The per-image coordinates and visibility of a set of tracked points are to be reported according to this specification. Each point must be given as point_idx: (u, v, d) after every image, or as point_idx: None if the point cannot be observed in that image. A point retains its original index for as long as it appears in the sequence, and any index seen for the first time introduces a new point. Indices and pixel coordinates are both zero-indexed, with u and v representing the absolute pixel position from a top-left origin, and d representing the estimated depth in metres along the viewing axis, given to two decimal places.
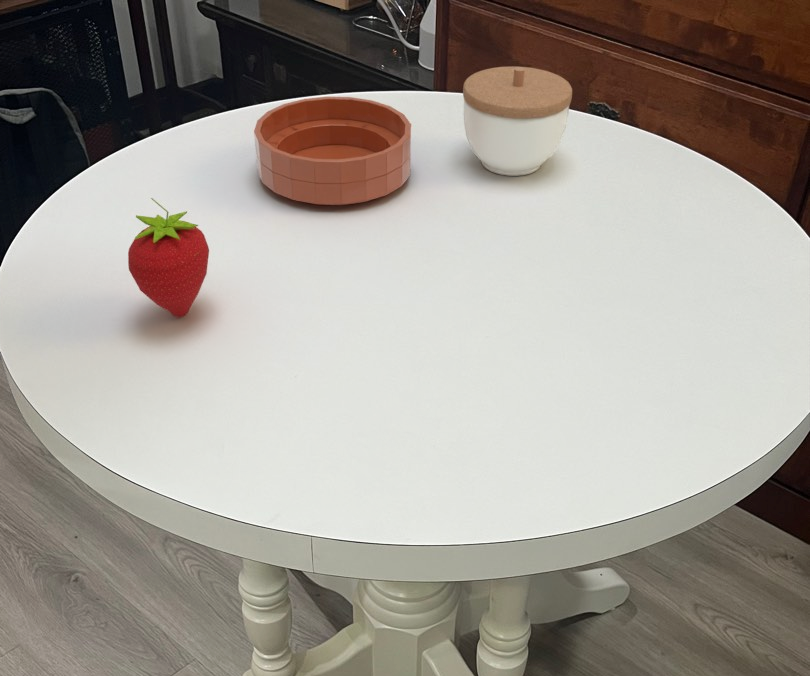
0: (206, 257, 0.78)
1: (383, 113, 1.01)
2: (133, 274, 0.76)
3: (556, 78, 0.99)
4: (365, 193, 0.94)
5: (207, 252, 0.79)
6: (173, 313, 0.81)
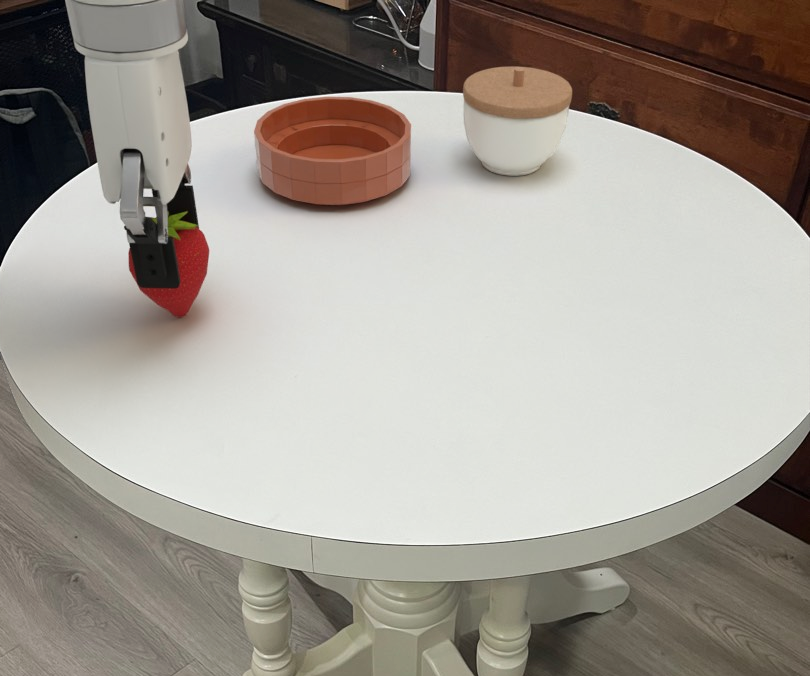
0: (206, 257, 0.78)
1: (383, 113, 1.01)
2: (133, 274, 0.76)
3: (556, 78, 0.99)
4: (365, 193, 0.94)
5: (207, 252, 0.79)
6: (173, 313, 0.81)
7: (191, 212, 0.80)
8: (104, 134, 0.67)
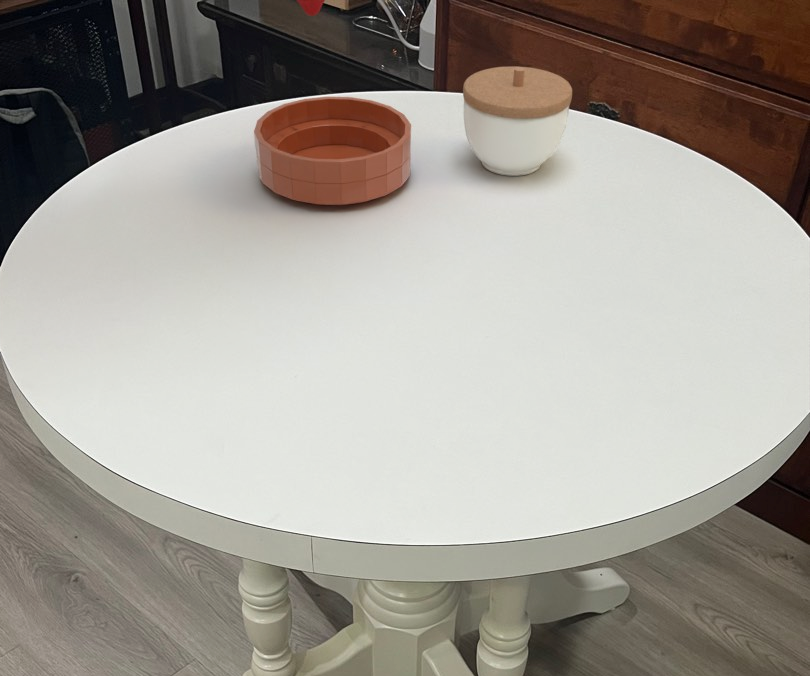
0: None
1: (383, 113, 1.01)
2: None
3: (556, 78, 0.99)
4: (365, 193, 0.94)
5: None
6: (307, 8, 0.86)
7: None
8: None
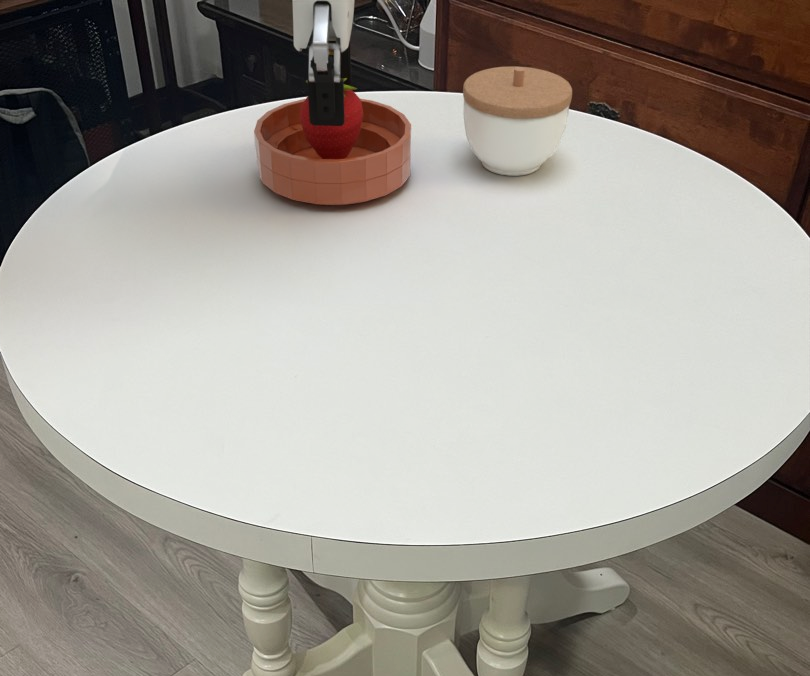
0: (362, 115, 0.96)
1: (383, 113, 1.01)
2: (306, 126, 0.94)
3: (556, 78, 0.99)
4: (365, 193, 0.94)
5: (362, 112, 0.96)
6: None
7: (347, 64, 0.97)
8: None
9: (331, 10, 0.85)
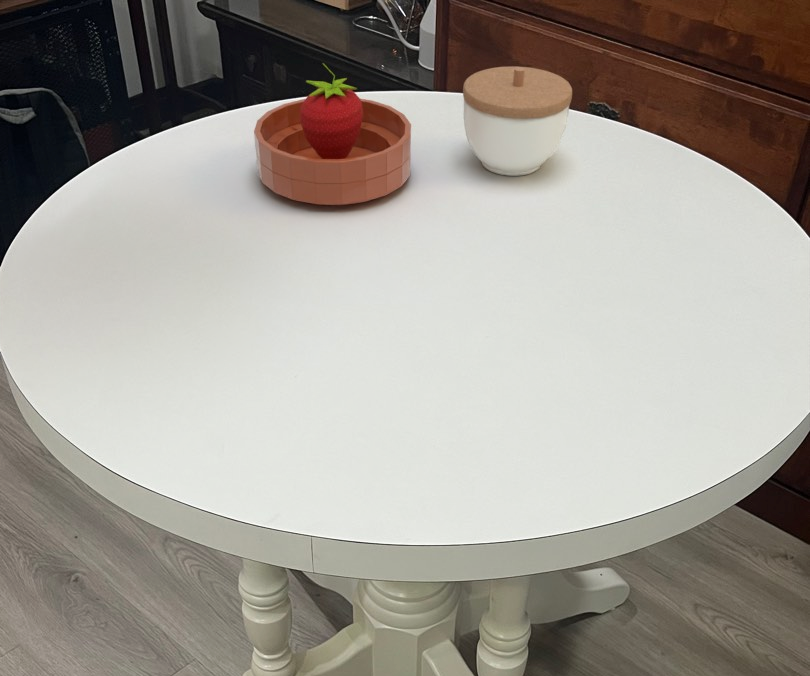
0: (362, 115, 0.96)
1: (383, 113, 1.01)
2: (306, 126, 0.94)
3: (556, 78, 0.99)
4: (365, 193, 0.94)
5: (362, 112, 0.96)
6: None
7: None
8: None
9: None
